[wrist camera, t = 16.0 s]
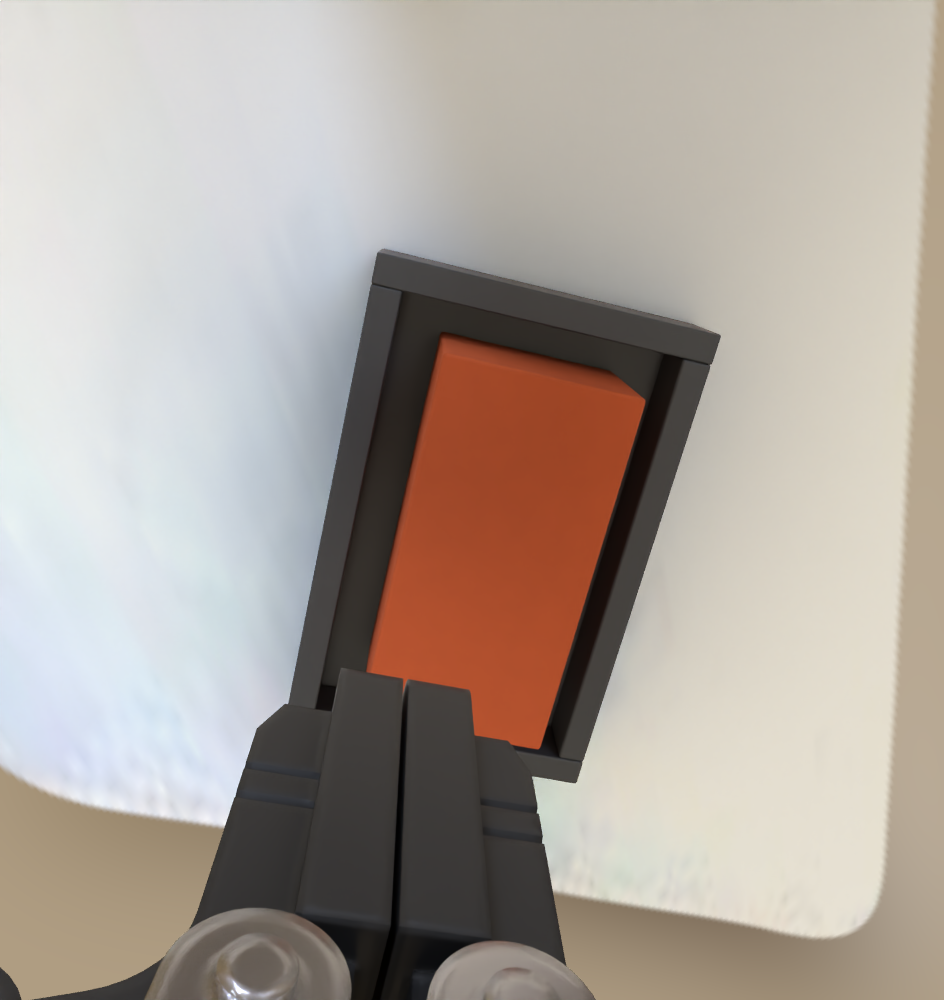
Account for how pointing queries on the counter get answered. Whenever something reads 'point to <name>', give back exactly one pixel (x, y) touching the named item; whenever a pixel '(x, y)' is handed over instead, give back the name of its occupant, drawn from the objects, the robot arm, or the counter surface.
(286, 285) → the counter surface
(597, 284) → the counter surface
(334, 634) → the tray
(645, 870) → the counter surface
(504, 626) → the orange-red rectangular block
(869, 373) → the counter surface
